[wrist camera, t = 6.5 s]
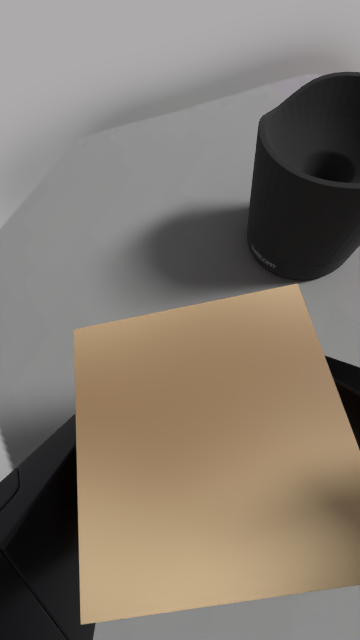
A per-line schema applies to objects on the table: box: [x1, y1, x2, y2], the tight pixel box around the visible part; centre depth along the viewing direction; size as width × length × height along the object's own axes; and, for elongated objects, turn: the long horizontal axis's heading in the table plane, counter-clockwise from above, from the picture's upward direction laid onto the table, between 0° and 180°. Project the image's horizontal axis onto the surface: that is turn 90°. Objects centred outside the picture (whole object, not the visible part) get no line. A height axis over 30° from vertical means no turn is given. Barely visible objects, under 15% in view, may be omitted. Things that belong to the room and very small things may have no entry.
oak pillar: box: [74, 283, 360, 625], centre depth 10 cm, size 4×4×12 cm
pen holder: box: [247, 72, 360, 280], centre depth 20 cm, size 9×9×10 cm
